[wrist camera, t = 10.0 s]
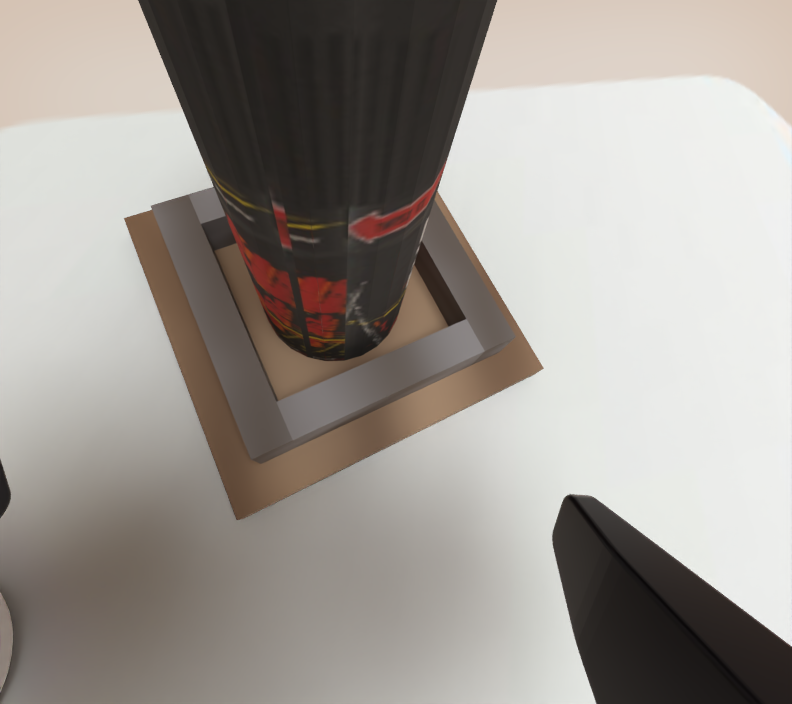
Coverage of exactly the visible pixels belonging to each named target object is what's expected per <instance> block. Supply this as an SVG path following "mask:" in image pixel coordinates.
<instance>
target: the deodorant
mask: <svg viewBox="0 0 792 704" xmlns="http://www.w3.org/2000/svg"><path fill="white" fill-rule="evenodd" d="M138 1H139V3H140V6H141V8H142V11H143V13H144V16H145V18H146V20H147V23H148V26H149V28H150V30H151V33H152V35H153V38H154V40H155V43H156V45H157V48H158V50H159V53H160V55H161V58H162V60H163V62H164V65H165V67H166V70H167V72H168V75H169V77H170V80H171V82H172V85H173V87H174V89H175V92H176V94H177V97H178V99H179V102H180V104H181V107H182V109H183V112H184V114H185V117H186V119H187V122H188V124H189V127H190V129H191V132H192V134H193V136H194V139H195V141H196V144H197V146H198V149H199V151H200V154H201V156H202V159H203V161H204V164H205V166H206V169H207V171H208V173H209V176H210V178H211V181H212V183H213V186H214V188H215V191H216V193H217V196H218V198H219V201H220V203H221V206H222V208H223V210H224V213H225V215H226V218H227V220H228V223H229V225H230V228H231V230H232V233H233V235H234V238H235V240H236V242H237V245H238V247H239V250H240V252H241V255H242V257H243V260H244V262H245V265H246V267H247V270H248V272H249V275H250V277H251V279H252V282H253V284H254V287H255V289H256V292H257V294H258V297H259V299H260V302H261V304H262V307H263V309H264V312H265V314H266V316H267V319H268V321H269V323H270V325H271V327H272V328H273V330H274V331H275V333H276V334H277V336H278V337H279V338H280V339H281V340H282V341H283V342H284V343H285V344H286V345H288V346H289V347H290V348H291V349H293V350H295V351H297V352H298V353H300V354H302V355H304V356H306V357H309V358H314V359H318V360H323V361H345V360H348V359H352V358H355V357H359V356H362V355H364V354H365V353H367V352H369V351H370V350H372V349H374V348H376V347H377V346H378V345H379V344H380V343H381V342H382V341H383V340H384V339H385V338H386V337H387V336H388V335H389V333H390V331H391V329H392V328H393V326H394V324H395V322H396V320H397V317H398V314H399V311H400V307H401V304H402V301H403V298H404V295H405V291H406V288H407V285H408V282H409V279H410V276H411V272H412V269H413V266H414V263H415V260H416V257H417V253H418V250H419V247H420V244H421V241H422V237H423V234H424V231H425V228H426V225H427V222H428V218H429V215H430V212H431V209H432V206H433V202H434V199H435V196H436V193H437V190H438V187H439V183H440V180H441V177H442V174H443V171H444V168H445V164H446V161H447V158H448V155H449V152H450V148H451V145H452V142H453V139H454V136H455V133H456V129H457V126H458V123H459V120H460V117H461V113H462V110H463V107H464V104H465V101H466V98H467V94H468V91H469V88H470V85H471V81H472V78H473V75H474V72H475V69H476V66H477V62H478V59H479V56H480V53H481V50H482V47H483V43H484V40H485V37H486V33H487V31H488V28H489V24H490V21H491V18H492V15H493V12H494V8H495V5H496V2H497V0H138Z"/></svg>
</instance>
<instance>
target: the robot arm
mask: <svg viewBox="0 0 792 704" xmlns="http://www.w3.org/2000/svg"><path fill="white" fill-rule="evenodd" d="M10 499H11V492H10V488H9V485H8V482H7V479H6V475H5V472H4V469H3V466H2V463H1V460H0V518H1V516H2V515H3V514H4V512H5V511H6V509H7V507H8V505H9V503H10ZM552 542H553V548H554V553H555V557H556V561H557V565H558V569H559V574H560V578H561V582H562V586H563V591H564V595H565V599H566V603H567V608H568V612H569V616H570V620H571V625H572V629H573V632H574V636H575V640H576V644H577V647H578V650H579V653H580V656H581V659H582V663H583V665H584V668H585V671H586V674H587V677H588V680H589V683H590V686H591V689H592V692H593V695H594V698H595V701H596V704H792V646H790V645H789V644H788V643H786V642H785V641H784V640H782V639H781V638H780V637H778V636H777V635H776V634H774V633H773V632H772V631H770V630H769V629H768V628H767V627H765V626H764V625H763V624H761V623H760V622H759V621H757V620H756V619H755V618H753V617H752V616H751V615H749V614H748V613H747V612H745V611H744V610H743V609H741V608H740V607H739V606H737V605H736V604H735V603H733V602H732V601H731V600H729V599H728V598H727V597H725V596H724V595H723V594H721V593H720V592H719V591H718V590H716V589H715V588H714V587H712V586H711V585H710V584H708V583H707V582H706V581H704V580H703V579H702V578H700V577H699V576H698V575H696V574H695V573H694V572H692V571H691V570H690V569H688V568H687V567H686V566H684V565H683V564H682V563H680V562H679V561H678V560H676V559H675V558H674V557H673V556H671V555H670V554H669V553H667V552H666V551H665V550H663V549H662V548H661V547H659V546H658V545H657V544H655V543H654V542H653V541H651V540H650V539H649V538H647V537H646V536H645V535H643V534H642V533H641V532H639V531H638V530H637V529H635V528H634V527H633V526H631V525H630V524H629V523H627V522H626V521H625V520H624V519H622V518H621V517H620V516H618V515H617V514H616V513H614V512H613V511H612V510H610V509H609V508H608V507H606V506H605V505H604V504H602V503H601V502H600V501H598V500H597V499H596V498H594V497H592V496H588V495H574V494H570V495H567V496H566V497H565V498H564V500H563V502H562V505H561V508H560V511H559V514H558V517H557V520H556V523H555V526H554V530H553V535H552Z"/></svg>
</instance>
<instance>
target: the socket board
mask: <svg viewBox="0 0 792 704" xmlns="http://www.w3.org/2000/svg"><path fill="white" fill-rule="evenodd" d="M151 208H152V210H150V211H147V212H143V213H140V214H137V215H133V216H130V217H127V218H124V220H125V222H126V225H127V228H128V230H129V233H130V236H131V238H132V241H133V244H134V246H135V249H136V252H137V254H138V257H139V260H140V262H141V265H142V268H143V270H144V273H145V276H146V278H147V281H148V284H149V286H150V289H151V292H152V294H153V297H154V300H155V302H156V305H157V308H158V310H159V313H160V316H161V318H162V321H163V324H164V327H165V329H166V332H167V335H168V337H169V340H170V343H171V345H172V348H173V351H174V353H175V356H176V359H177V361H178V364H179V367H180V369H181V372H182V375H183V377H184V380H185V383H186V385H187V388H188V391H189V393H190V396H191V399H192V401H193V404H194V407H195V409H196V412H197V415H198V417H199V420H200V423H201V426H202V428H203V431H204V434H205V436H206V439H207V442H208V444H209V447H210V450H211V452H212V455H213V458H214V460H215V463H216V466H217V468H218V471H219V474H220V476H221V479H222V482H223V484H224V487H225V490H226V492H227V495H228V498H229V500H230V503H231V506H232V508H233V511H234V514H235V516H236V519H237V520H241V519H244V518H246V517H248V516H250V515H252V514H254V513H256V512H258V511H260V510H262V509H264V508H266V507H268V506H270V505H272V504H274V503H276V502H278V501H280V500H282V499H284V498H286V497H288V496H290V495H292V494H294V493H296V492H298V491H300V490H302V489H304V488H306V487H308V486H310V485H312V484H314V483H316V482H318V481H320V480H322V479H324V478H326V477H328V476H331V475H333V474H335V473H337V472H339V471H341V470H343V469H345V468H347V467H349V466H351V465H353V464H355V463H357V462H359V461H361V460H363V459H365V458H367V457H369V456H371V455H373V454H375V453H377V452H379V451H381V450H383V449H385V448H387V447H389V446H391V445H393V444H395V443H397V442H399V441H401V440H403V439H405V438H407V437H409V436H411V435H413V434H415V433H417V432H419V431H421V430H423V429H425V428H427V427H429V426H431V425H433V424H435V423H437V422H439V421H441V420H443V419H445V418H447V417H449V416H451V415H453V414H455V413H457V412H459V411H462V410H464V409H466V408H468V407H470V406H472V405H474V404H476V403H478V402H480V401H482V400H484V399H486V398H488V397H490V396H492V395H494V394H496V393H498V392H500V391H502V390H504V389H506V388H508V387H510V386H512V385H514V384H516V383H518V382H520V381H522V380H524V379H526V378H528V377H530V376H532V375H534V374H536V373H537V372H539V371H540V370H542V369H543V367H542V365H541V363H540V362H539V360H538V358H537V357H536V355H535V353H534V352H533V350H532V348H531V347H530V345H529V343H528V342H527V340H526V338H525V337H524V335H523V333H522V332H521V330H520V328H519V326H518V325H517V323H516V321H515V320H514V318H513V316H512V315H511V313H510V311H509V310H508V308H507V306H506V305H505V303H504V301H503V300H502V298H501V296H500V295H499V293H498V291H497V290H496V288H495V286H494V285H493V283H492V281H491V280H490V278H489V276H488V275H487V273H486V271H485V270H484V268H483V266H482V265H481V263H480V261H479V260H478V258H477V256H476V255H475V253H474V251H473V250H472V248H471V246H470V245H469V243H468V241H467V240H466V238H465V236H464V235H463V233H462V231H461V230H460V228H459V226H458V225H457V223H456V221H455V220H454V218H453V216H452V215H451V213H450V211H449V210H448V208H447V206H446V205H445V203H444V201H443V200H442V198H441V196H440V195H439V193H438V191H437V193H436V196H435V199H434V202H433V206H432V209H431V212H430V215H429V218H428V222H427V225H426V228H425V231H424V234H423V237H422V241H421V244H420V247H419V250H418V253H417V257H416V260H415V263H414V266H413V269H412V272H411V276H410V279H409V282H408V285H407V288H406V291H405V295H404V298H403V301H402V304H401V307H400V311H399V314H398V317H397V320H396V322H395V324H394V326H393V328H392V329H391V331H390V333H389V335H388V336H387V337H386V338H385V339H384V340H383V341H382V342H381V343H380V344H379V345H378V346H377V347H376V348H374V349H372V350H370V351H369V352H367V353H365V354H364V355H362V356H359V357H355V358H352V359H348V360H345V361H323V360H318V359H314V358H309V357H306V356H304V355H302V354H300V353H298V352H297V351H295V350H293V349H291V348H290V347H289V346H288V345H286V344H285V343H284V342H283V341H282V340H281V339H280V338H279V337H278V336H277V334H276V333H275V331H274V330H273V328H272V327H271V325H270V323H269V321H268V319H267V316H266V314H265V312H264V309H263V307H262V304H261V302H260V299H259V297H258V294H257V292H256V289H255V287H254V284H253V282H252V279H251V277H250V275H249V272H248V270H247V267H246V265H245V262H244V260H243V257H242V255H241V252H240V250H239V247H238V245H237V242H236V240H235V238H234V235H233V233H232V230H231V228H230V225H229V223H228V220H227V218H226V215H225V213H224V210H223V208H222V206H221V203H220V201H219V198H218V196H217V193H216V191H215V188H214V187H212V188H209V189H206V190H202V191H199V192H195V193H192V194H189V195H185V196H182V197H179V198H175V199H172V200H169V201H165V202H162V203H159V204H155V205H152V206H151Z"/></svg>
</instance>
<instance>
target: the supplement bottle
mask: <svg viewBox="0 0 792 704" xmlns="http://www.w3.org/2000/svg"><path fill="white" fill-rule="evenodd" d="M12 647H13V627H12V621H11V616H10V612H9V609H8V607H7V604H6V602H5V600H4V598H3V596H2V594H1V593H0V692H1V690H2V687H3V685H4V682H5V680H6V677H7V673H8V670H9V666H10V661H11V656H12Z"/></svg>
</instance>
